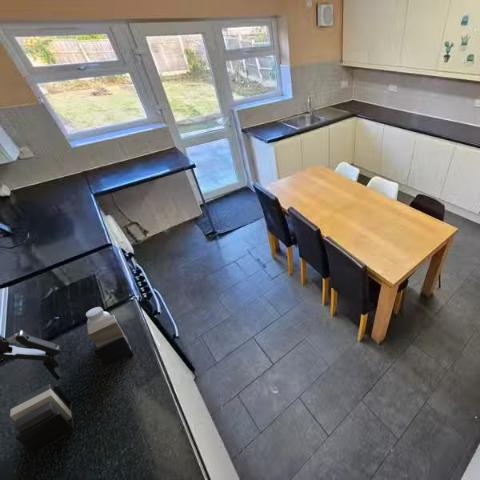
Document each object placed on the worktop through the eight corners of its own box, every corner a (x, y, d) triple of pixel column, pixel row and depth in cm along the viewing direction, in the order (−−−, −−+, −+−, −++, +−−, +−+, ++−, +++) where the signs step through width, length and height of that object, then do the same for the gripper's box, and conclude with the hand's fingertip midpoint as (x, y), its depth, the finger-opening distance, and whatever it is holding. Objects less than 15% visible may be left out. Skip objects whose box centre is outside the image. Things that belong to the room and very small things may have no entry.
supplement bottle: (118, 326, 105) (104, 302, 99) (121, 337, 101) (106, 312, 94) (98, 335, 102) (81, 310, 95) (99, 347, 97) (82, 321, 91)
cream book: (35, 431, 72) (10, 409, 67) (71, 411, 77) (50, 388, 71) (35, 439, 71) (9, 416, 65) (71, 418, 75) (50, 395, 70)
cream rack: (101, 348, 96) (85, 325, 91) (126, 336, 101) (113, 312, 95) (106, 368, 89) (89, 344, 83) (133, 354, 94) (119, 330, 88)
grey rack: (36, 421, 76) (13, 399, 70) (72, 401, 80) (53, 379, 75) (36, 455, 68) (9, 433, 63) (75, 431, 73) (54, 409, 68)
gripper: (-150, 387, 46) (-59, 447, 57) (42, 312, 61) (87, 371, 71) (-132, 359, 51) (-51, 419, 62) (42, 296, 65) (84, 353, 76)
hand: (23, 393), depth 66 cm, fingers open, 13 cm apart
